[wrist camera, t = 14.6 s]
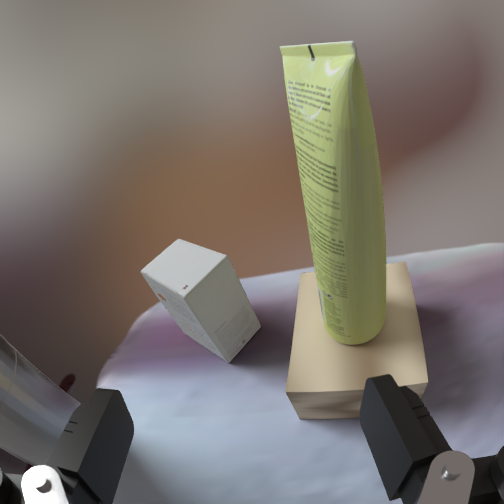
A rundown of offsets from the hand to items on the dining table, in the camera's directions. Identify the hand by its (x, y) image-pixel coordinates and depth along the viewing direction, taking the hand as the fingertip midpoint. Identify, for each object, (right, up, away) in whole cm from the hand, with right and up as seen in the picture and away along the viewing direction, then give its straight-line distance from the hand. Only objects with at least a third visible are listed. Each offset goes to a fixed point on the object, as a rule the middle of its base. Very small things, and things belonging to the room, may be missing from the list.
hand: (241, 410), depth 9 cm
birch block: (+10, -5, +18) cm, 21 cm away
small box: (-3, -4, +26) cm, 26 cm away
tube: (+8, -1, +14) cm, 16 cm away
